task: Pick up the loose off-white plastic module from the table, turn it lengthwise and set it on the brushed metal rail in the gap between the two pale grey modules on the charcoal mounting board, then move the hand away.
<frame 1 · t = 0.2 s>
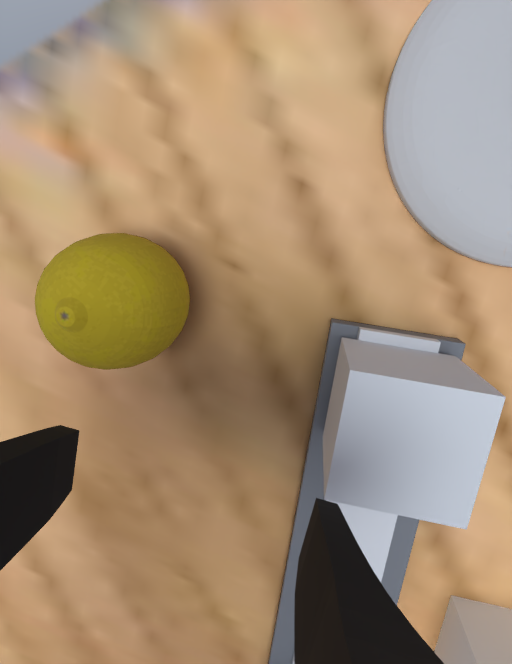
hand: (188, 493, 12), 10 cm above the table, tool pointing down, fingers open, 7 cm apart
lemon: (157, 289, 21), on the table
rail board: (343, 555, 23), on the table
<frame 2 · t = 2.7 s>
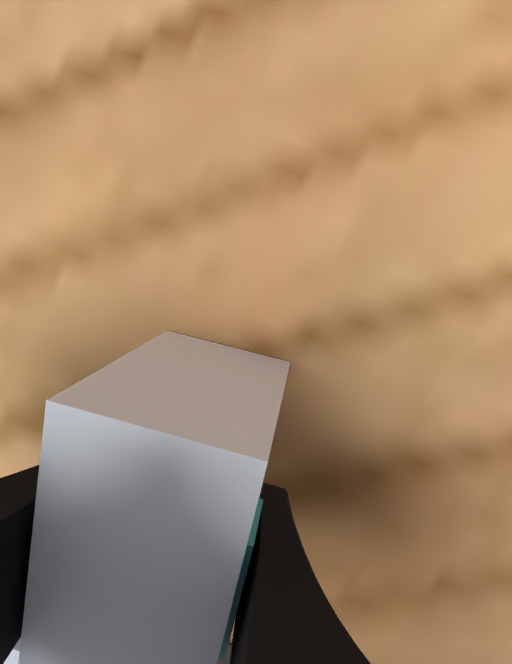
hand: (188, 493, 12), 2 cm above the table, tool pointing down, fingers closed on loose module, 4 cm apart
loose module: (204, 458, 14), on the table, touching gripper
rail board: (86, 661, 16), on the table
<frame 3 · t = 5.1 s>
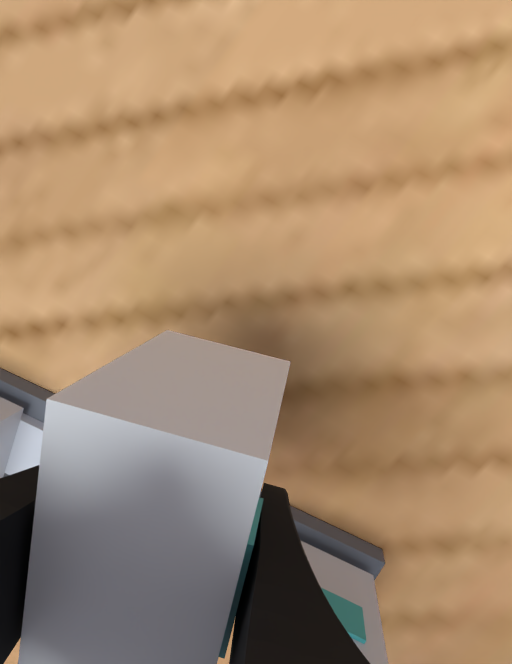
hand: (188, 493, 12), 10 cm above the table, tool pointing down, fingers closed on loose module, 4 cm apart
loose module: (204, 458, 14), point 8 cm above the table, touching gripper
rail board: (147, 489, 24), on the table
when the fingers open (5 cm above the table, at t = 7.7 s): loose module drops 1 cm, resting on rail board.
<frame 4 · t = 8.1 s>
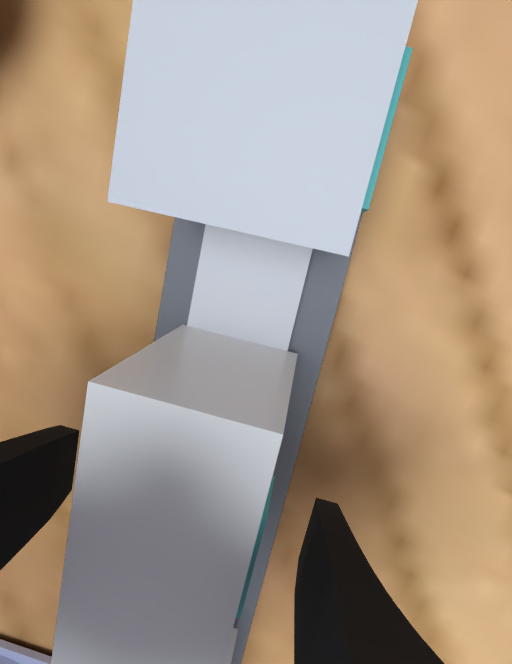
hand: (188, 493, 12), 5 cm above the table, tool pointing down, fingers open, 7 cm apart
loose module: (216, 444, 15), point 2 cm above the table, touching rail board
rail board: (223, 425, 16), on the table
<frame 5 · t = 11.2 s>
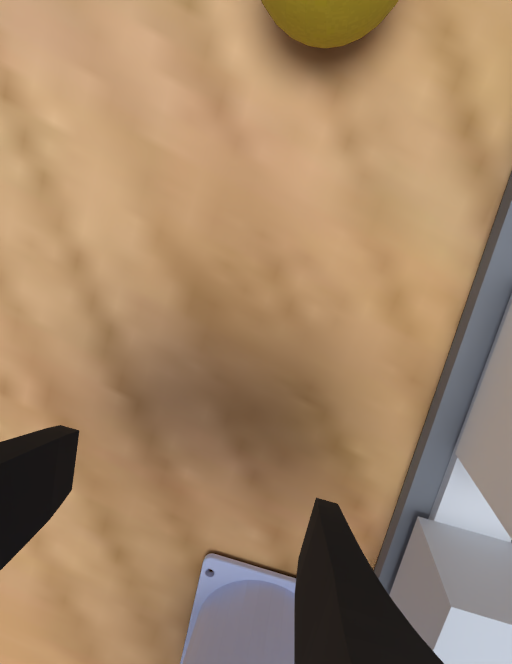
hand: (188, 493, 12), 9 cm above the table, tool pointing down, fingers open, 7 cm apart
lemon: (329, 9, 17), on the table
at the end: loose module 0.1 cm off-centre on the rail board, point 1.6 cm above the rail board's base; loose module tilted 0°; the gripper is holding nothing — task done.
